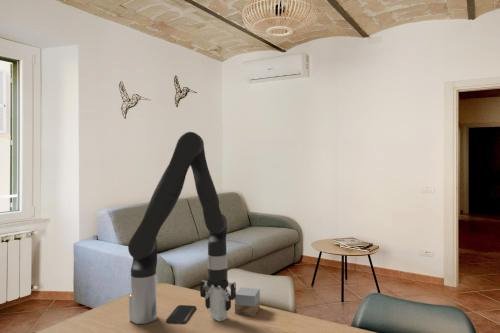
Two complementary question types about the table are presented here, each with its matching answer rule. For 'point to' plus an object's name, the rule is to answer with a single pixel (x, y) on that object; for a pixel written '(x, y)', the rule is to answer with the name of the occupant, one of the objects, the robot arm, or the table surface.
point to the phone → (181, 314)
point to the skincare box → (218, 304)
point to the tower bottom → (247, 309)
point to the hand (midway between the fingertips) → (218, 308)
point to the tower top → (247, 296)
